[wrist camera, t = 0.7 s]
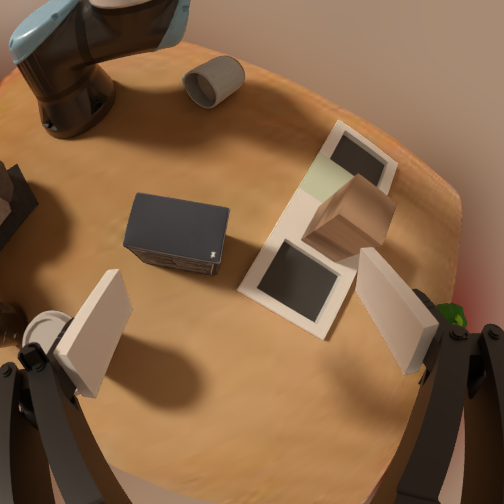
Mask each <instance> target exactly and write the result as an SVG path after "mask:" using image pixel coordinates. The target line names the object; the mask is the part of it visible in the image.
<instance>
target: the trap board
mask: <svg viewBox="0 0 504 504" xmlns="http://www.w3.org/2000/svg"><path fill="white" fill-rule="evenodd" d="M397 165H398V163H397V162H395V161H394V160H393V159H392V158H390V157H389V156H388V155H387V154H385V153H384V152H383V151H382V150H380V149H379V148H378V147H376V146H375V145H374V144H373V143H371V142H370V141H369V140H367V139H366V138H365V137H363V136H362V135H360V134H359V133H358V132H356V131H355V130H353V129H352V128H351V127H349V126H348V125H346V124H345V123H343V122H342V121H340V120H339V119H338V121H337V122H336V123H335V125H334V127H333V128H332V130H331V132H330V134H329V135H328V137H327V139H326V140H325V142H324V144H323V145H322V147H321V149H320V151H319V152H318V154H317V156H316V157H315V159H314V161H313V162H312V164H311V166H310V168H309V169H308V171H307V173H306V174H305V176H304V178H303V179H302V181H301V183H300V184H299V186H298V188H297V190H296V191H295V193H294V195H293V196H292V198H291V200H290V201H289V203H288V205H287V206H286V208H285V210H284V211H283V213H282V215H281V216H280V218H279V220H278V222H277V223H276V225H275V227H274V228H273V230H272V232H271V233H270V235H269V237H268V238H267V240H266V242H265V243H264V245H263V247H262V248H261V250H260V252H259V253H258V255H257V257H256V258H255V260H254V262H253V263H252V265H251V267H250V268H249V270H248V272H247V273H246V275H245V277H244V278H243V280H242V282H241V283H240V285H239V287H238V288H237V290H236V291H238V292H240V293H241V294H243V295H245V296H246V297H248V298H250V299H251V300H253V301H255V302H256V303H258V304H260V305H261V306H263V307H265V308H266V309H268V310H270V311H271V312H273V313H275V314H277V315H278V316H280V317H282V318H283V319H285V320H287V321H289V322H290V323H292V324H294V325H295V326H297V327H299V328H301V329H302V330H304V331H306V332H308V333H309V334H311V335H313V336H315V337H317V338H318V339H321V340H324V338H325V336H326V334H327V332H328V330H329V329H330V327H331V325H332V323H333V321H334V319H335V317H336V315H337V313H338V311H339V309H340V307H341V305H342V303H343V301H344V299H345V297H346V294H347V292H348V290H349V288H350V286H351V284H352V282H353V279H354V277H355V275H356V273H357V271H358V266H359V258H360V254H357V255H354V256H351V257H348V258H346V259H343V260H340V261H337V262H333V261H331V260H330V259H328V258H327V257H325V256H324V255H322V254H321V253H319V252H318V251H316V250H315V249H313V248H312V247H310V246H309V245H307V244H306V243H304V242H303V241H301V238H302V236H303V235H304V233H305V231H306V229H307V227H308V225H309V223H310V222H311V220H312V218H313V216H314V214H315V212H316V210H317V208H318V207H319V206H320V205H321V204H323V203H324V202H325V201H326V200H327V199H328V198H330V197H331V196H332V195H333V194H334V193H336V192H337V191H338V190H339V189H340V188H341V187H343V186H344V185H345V184H346V183H347V182H348V181H350V180H351V179H352V178H353V177H354V176H356V175H357V174H358V173H359V174H360V175H361V176H363V177H364V178H365V179H367V180H368V181H369V182H371V183H372V184H373V185H374V186H376V187H377V188H378V189H380V190H381V191H382V192H383V193H385V194H386V195H388V192H389V189H390V187H391V184H392V181H393V178H394V175H395V172H396V168H397Z"/></svg>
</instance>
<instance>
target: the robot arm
mask: <svg viewBox="0 0 504 504" xmlns="http://www.w3.org/2000/svg"><path fill="white" fill-rule="evenodd" d="M189 5H190V0H51V1H49V2H47V3H46V4H44V5H43V6H41V7H40V8H38V9H37V10H35V11H34V12H33V13H32V14H31V15H29V16H28V17H27V18H26V19H25V20H24V21H23V22H22V23H21V24H20V25H19V26H18V27H17V29H16V30H15V31H14V33H13V34H12V36H11V38H10V41H9V50H10V52H11V55H12V58H13V60H14V63H15V64H16V65H17V67H18V69H19V70H20V72H21V74H22V75H23V77H24V79H25V80H26V82H27V84H28V85H29V87H30V89H31V90H32V92H33V93H34V95H35V96H36V98H37V100H38V106H39V112H40V118H41V122H42V125H43V127H44V128H45V129H46V131H47V132H48V133H49V134H50V135H51V136H53V137H55V138H70V137H74V136H77V135H79V134H82V133H84V132H85V131H87V130H89V129H90V128H92V127H93V126H95V125H96V124H97V123H98V122H99V121H100V120H101V119H102V118H103V117H104V116H105V115H106V114H107V113H108V111H109V110H110V108H111V107H112V105H113V102H114V99H115V88H114V85H113V82H112V79H111V78H110V76H109V75H108V74H107V73H106V72H105V71H104V70H103V69H102V68H101V67H100V66H99V65H98V64H97V63H100V62H104V61H108V60H112V59H117V58H121V57H126V56H131V55H136V54H141V53H147V52H155V51H157V50H160V49H165V48H170V47H174V46H176V45H177V44H179V43H180V41H181V40H182V38H183V36H184V33H185V30H186V26H187V21H188V15H189ZM355 291H356V293H357V294H358V296H359V298H360V299H361V301H362V303H363V304H364V306H365V308H366V309H367V311H368V313H369V314H370V316H371V318H372V319H373V321H374V323H375V325H376V326H377V328H378V330H379V331H380V333H381V335H382V337H383V338H384V340H385V342H386V344H387V346H388V347H389V349H390V351H391V353H392V355H393V356H394V358H395V360H396V362H397V364H398V366H399V367H400V369H401V371H402V373H403V375H404V376H405V375H408V374H412V373H415V372H418V371H419V369H420V367H421V365H422V363H424V365H425V366H426V370H425V372H424V374H423V376H422V378H421V380H420V382H419V383H418V384H421V385H420V389H419V392H418V395H417V398H416V402H415V405H414V408H413V411H412V413H411V416H410V419H409V422H408V424H407V427H406V430H405V432H404V435H403V437H402V440H401V442H400V445H399V447H398V449H397V451H396V454H395V456H394V458H393V460H392V462H391V465H390V467H389V469H388V471H387V473H386V475H385V477H384V479H383V481H382V483H381V485H380V486H379V488H378V490H377V492H376V494H375V496H374V497H373V499H372V501H371V503H370V504H441V503H440V502H439V501H438V496H439V493H440V490H441V487H442V485H443V482H444V479H445V476H446V473H447V470H448V467H449V464H450V461H451V457H452V454H453V450H454V447H455V443H456V439H457V434H458V431H459V426H460V421H461V417H462V411H463V406H464V420H465V462H464V463H465V464H464V477H463V487H462V496H461V503H460V504H504V331H503V330H502V329H501V328H500V327H499V326H497V325H494V324H487V325H485V326H484V328H483V330H482V332H481V333H476V334H475V333H472V334H469V332H468V331H467V330H466V329H465V328H464V327H462V326H460V325H456V324H450V323H449V322H448V321H447V319H446V318H445V317H444V316H443V315H442V313H441V312H440V311H439V310H438V309H437V307H435V305H434V304H433V303H432V302H431V300H430V299H429V298H428V297H427V296H426V295H425V294H424V293H423V292H421V291H419V290H418V289H412V290H411V289H410V287H409V286H408V285H407V284H406V283H405V282H404V280H403V279H402V278H401V277H400V276H399V275H398V274H397V273H396V271H395V270H394V269H393V268H392V267H391V266H390V265H389V264H388V263H387V262H386V260H385V259H384V258H383V257H382V256H381V255H380V254H379V253H378V252H377V251H376V250H375V249H374V248H373V247H367V248H361V249H360V258H359V266H358V274H357V282H356V289H355ZM132 310H133V308H132V305H131V303H130V300H129V297H128V294H127V291H126V288H125V285H124V282H123V279H122V276H121V273H120V270H119V269H112V270H107V272H106V273H105V274H104V276H103V277H102V279H101V280H100V281H99V283H98V284H97V285H96V287H95V288H94V290H93V291H92V293H91V294H90V296H89V297H88V298H87V300H86V301H85V303H84V304H83V306H82V307H81V309H80V310H79V312H78V313H77V315H76V316H75V318H71V319H70V320H69V321H68V322H67V323H66V324H65V325H64V327H63V328H62V330H61V332H60V333H59V335H58V336H57V338H56V339H55V341H54V343H53V344H52V346H51V347H50V349H49V351H48V353H47V354H45V352H44V350H43V349H42V347H41V346H40V344H39V343H37V342H31V343H28V344H27V345H25V346H24V347H23V348H22V349H21V350H20V352H19V353H18V359H19V361H20V362H21V364H22V365H23V367H24V368H25V369H21V370H19V369H18V368H17V366H16V365H15V363H13V362H8V363H5V364H3V365H2V366H1V368H0V504H55V499H54V494H53V489H52V483H51V477H50V471H49V464H50V467H51V470H52V472H53V475H54V478H55V480H56V482H57V485H58V487H59V489H60V492H61V494H62V496H63V499H64V501H65V503H66V504H132V502H131V501H130V499H129V498H128V496H127V495H126V493H125V492H124V490H123V489H122V487H121V485H120V484H119V482H118V481H117V479H116V477H115V476H114V474H113V472H112V471H111V469H110V467H109V465H108V463H107V462H106V460H105V458H104V456H103V454H102V452H101V450H100V448H99V446H98V444H97V442H96V440H95V438H94V436H93V434H92V432H91V430H90V428H89V425H88V423H87V421H86V419H85V416H84V414H83V411H82V409H81V407H80V404H79V402H78V399H77V397H76V396H75V395H74V393H75V391H76V388H77V390H78V391H79V392H80V394H81V395H82V396H84V397H90V398H96V397H97V394H98V392H99V389H100V386H101V384H102V381H103V378H104V376H105V373H106V371H107V368H108V366H109V363H110V361H111V358H112V356H113V353H114V351H115V349H116V346H117V344H118V342H119V339H120V337H121V335H122V332H123V330H124V328H125V326H126V323H127V321H128V319H129V317H130V314H131V312H132ZM19 405H20V407H21V412H20V410H19ZM48 461H49V463H48Z"/></svg>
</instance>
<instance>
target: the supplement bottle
mask: <svg viewBox="0 0 504 504" xmlns="http://www.w3.org/2000/svg"><path fill="white" fill-rule="evenodd" d="M27 326H28V322H27V318H26V315H25V312H24V311H23V309H22V308H21V307H20V306H19V305H18V304H16V303H14V302H7V301H0V348H3V347H9V346H15V345H19V344H21V343H22V342H23V337H24V333H25V331H26V328H27Z"/></svg>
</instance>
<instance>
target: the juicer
mask: <svg viewBox="0 0 504 504" xmlns="http://www.w3.org/2000/svg"><path fill="white" fill-rule="evenodd" d="M38 204H39V203H38V202H37V200H36V198H35V196H34V195H33V193H32V191H31V189H30V188H29V186H28V184H27V182H26V180H25V178H24V176H23V174H22V172H21V170H20V169H19V167H18V164H16V165H14V166H13V167H11V168H10V169H8V170H6V168H5V166H4V163H2V162H1V161H0V251H1V250H2V248H3V247H4V246H5V244H6V243H7V242H8V240H9V239H10V238H11V236H12V235H13V234H14V233H15V231H16V230H17V229H18V228H19V226H20V225H21V224H22V223H23V222H24V220H25V219H26V218H27V217H28V216H29V214H30V213H31V212H32V211H33V210H34V209H35V208H36V206H37V205H38Z"/></svg>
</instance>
